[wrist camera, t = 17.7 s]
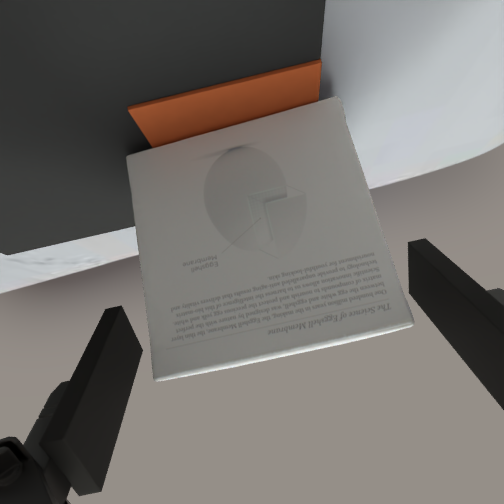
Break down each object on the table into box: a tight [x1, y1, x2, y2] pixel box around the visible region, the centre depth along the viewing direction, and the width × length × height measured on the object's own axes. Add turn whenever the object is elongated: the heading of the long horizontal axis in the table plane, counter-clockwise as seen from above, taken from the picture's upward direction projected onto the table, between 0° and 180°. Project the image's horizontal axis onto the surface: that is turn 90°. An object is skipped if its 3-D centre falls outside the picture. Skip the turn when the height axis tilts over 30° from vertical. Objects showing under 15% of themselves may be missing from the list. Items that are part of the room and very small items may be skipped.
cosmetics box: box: [126, 96, 414, 381], centre depth 18 cm, size 10×6×10 cm, turn 100°
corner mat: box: [0, 0, 325, 255], centre depth 17 cm, size 22×17×1 cm
